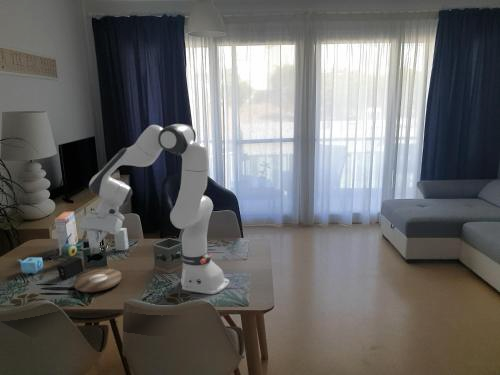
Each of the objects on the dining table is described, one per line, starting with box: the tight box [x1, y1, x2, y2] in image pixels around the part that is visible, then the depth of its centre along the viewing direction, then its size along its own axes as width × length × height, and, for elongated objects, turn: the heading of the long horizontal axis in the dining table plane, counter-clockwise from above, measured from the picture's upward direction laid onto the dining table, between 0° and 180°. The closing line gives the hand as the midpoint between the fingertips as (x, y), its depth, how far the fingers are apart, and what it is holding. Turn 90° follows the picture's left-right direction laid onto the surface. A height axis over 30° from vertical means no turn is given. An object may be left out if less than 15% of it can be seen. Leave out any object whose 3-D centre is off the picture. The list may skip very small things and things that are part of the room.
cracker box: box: [54, 211, 79, 254], centre depth 208 cm, size 14×6×21 cm, turn 6°
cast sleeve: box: [86, 229, 102, 255], centre depth 165 cm, size 4×4×10 cm
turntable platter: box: [73, 268, 123, 293], centre depth 169 cm, size 20×20×2 cm
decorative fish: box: [58, 234, 84, 261], centre depth 193 cm, size 13×12×6 cm
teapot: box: [17, 256, 44, 275], centre depth 182 cm, size 12×6×8 cm, turn 89°
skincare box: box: [113, 227, 130, 251], centre depth 209 cm, size 6×4×12 cm
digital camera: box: [56, 256, 84, 281], centre depth 179 cm, size 10×5×7 cm, turn 157°
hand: (93, 240), depth 164 cm, fingers closed on cast sleeve, 4 cm apart
